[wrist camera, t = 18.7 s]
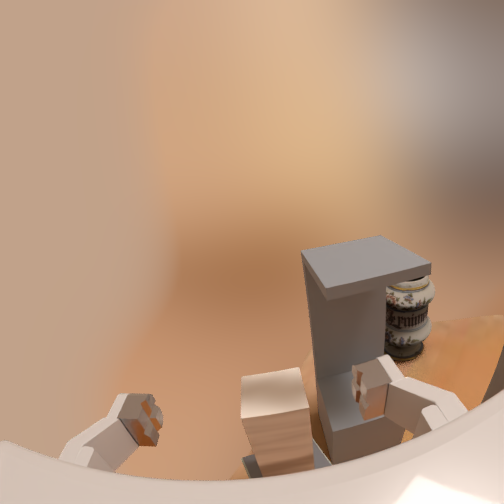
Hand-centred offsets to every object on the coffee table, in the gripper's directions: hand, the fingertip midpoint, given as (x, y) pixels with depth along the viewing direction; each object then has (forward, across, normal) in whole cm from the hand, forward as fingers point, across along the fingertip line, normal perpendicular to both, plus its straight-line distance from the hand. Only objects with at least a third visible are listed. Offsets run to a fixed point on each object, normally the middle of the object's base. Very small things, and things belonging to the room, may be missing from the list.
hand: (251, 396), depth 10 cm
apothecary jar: (+37, -28, +32) cm, 57 cm away
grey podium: (+20, -12, +32) cm, 39 cm away
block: (+8, 0, +22) cm, 24 cm away
